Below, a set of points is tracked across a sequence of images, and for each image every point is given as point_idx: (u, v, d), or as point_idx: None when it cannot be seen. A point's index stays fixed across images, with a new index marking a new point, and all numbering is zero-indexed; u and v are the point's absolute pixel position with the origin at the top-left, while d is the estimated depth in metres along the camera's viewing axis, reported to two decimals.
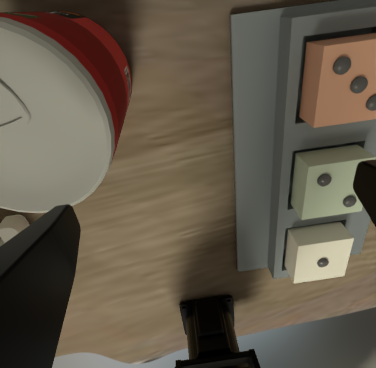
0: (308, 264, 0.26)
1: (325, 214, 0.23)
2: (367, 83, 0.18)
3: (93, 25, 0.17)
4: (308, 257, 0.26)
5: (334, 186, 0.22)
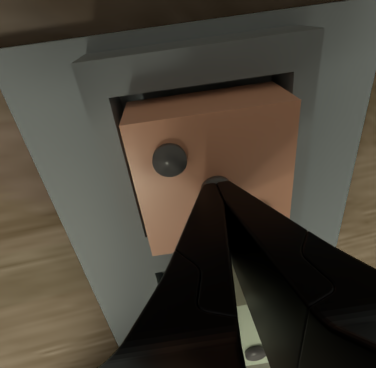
0: None
1: None
2: None
3: None
4: None
5: None
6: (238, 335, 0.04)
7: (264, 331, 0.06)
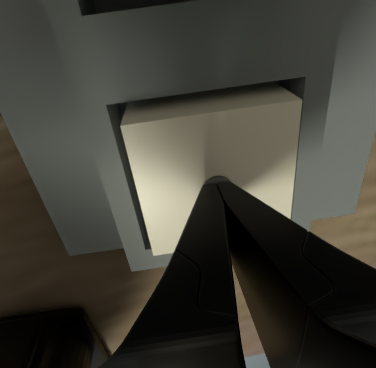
0: (176, 196, 0.09)
1: None
2: None
3: None
4: (170, 172, 0.09)
5: None
6: (238, 335, 0.04)
7: (264, 331, 0.06)
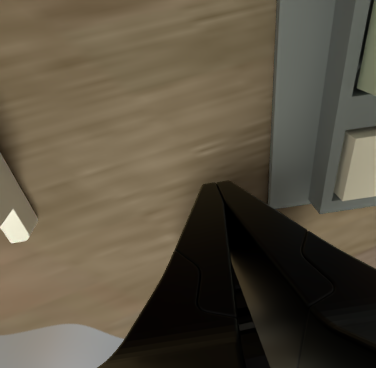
0: (365, 170, 0.20)
1: None
2: None
3: None
4: (367, 158, 0.19)
5: None
6: (238, 335, 0.04)
7: (264, 331, 0.06)
